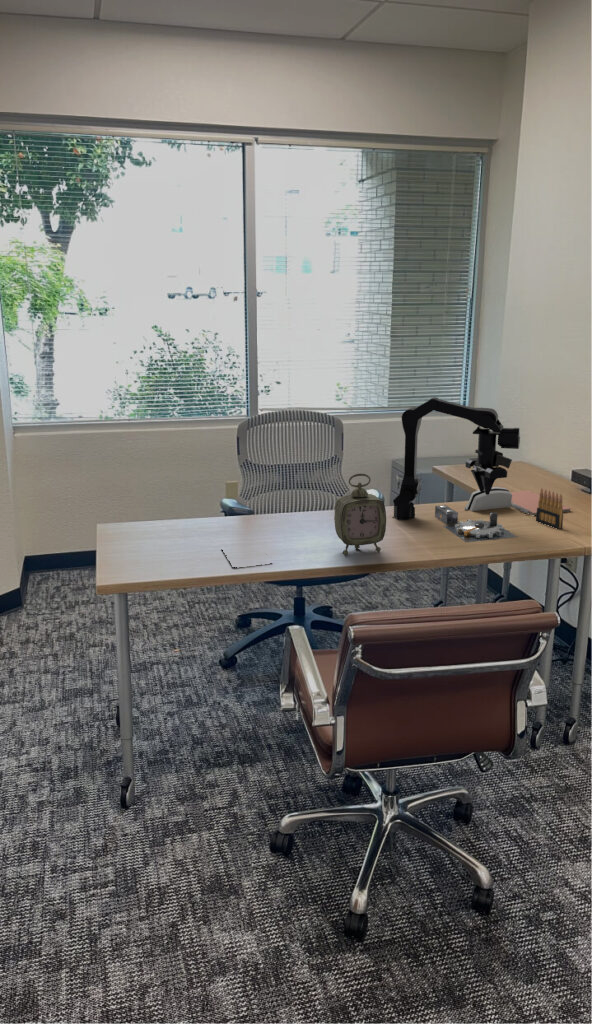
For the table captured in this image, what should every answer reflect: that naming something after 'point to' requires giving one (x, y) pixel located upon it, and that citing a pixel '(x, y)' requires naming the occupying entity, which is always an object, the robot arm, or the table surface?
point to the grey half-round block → (489, 499)
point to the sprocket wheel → (480, 527)
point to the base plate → (473, 538)
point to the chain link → (446, 514)
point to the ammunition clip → (550, 509)
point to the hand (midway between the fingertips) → (484, 493)
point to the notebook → (528, 502)
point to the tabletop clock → (360, 517)
